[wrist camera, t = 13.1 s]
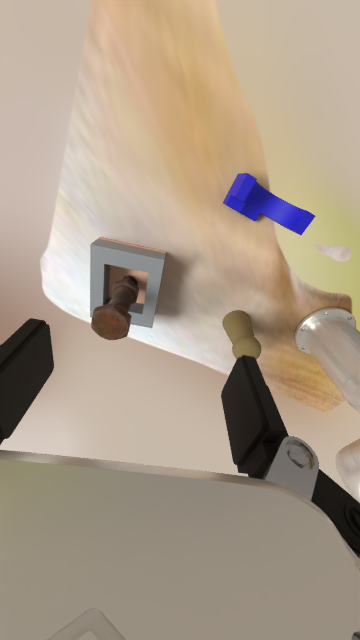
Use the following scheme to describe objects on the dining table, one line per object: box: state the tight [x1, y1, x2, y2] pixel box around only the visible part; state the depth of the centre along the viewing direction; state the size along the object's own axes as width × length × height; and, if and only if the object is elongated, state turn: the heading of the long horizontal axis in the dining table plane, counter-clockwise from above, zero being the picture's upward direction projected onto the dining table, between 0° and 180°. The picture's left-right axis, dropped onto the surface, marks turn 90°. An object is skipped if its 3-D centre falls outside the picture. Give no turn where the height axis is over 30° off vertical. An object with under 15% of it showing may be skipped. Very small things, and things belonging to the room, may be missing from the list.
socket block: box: [90, 237, 166, 328], centre depth 42 cm, size 12×14×5 cm
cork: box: [223, 310, 261, 359], centre depth 45 cm, size 6×6×11 cm
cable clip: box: [223, 173, 315, 235], centre depth 35 cm, size 12×4×6 cm, turn 64°
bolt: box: [91, 275, 139, 340], centre depth 37 cm, size 6×5×15 cm
